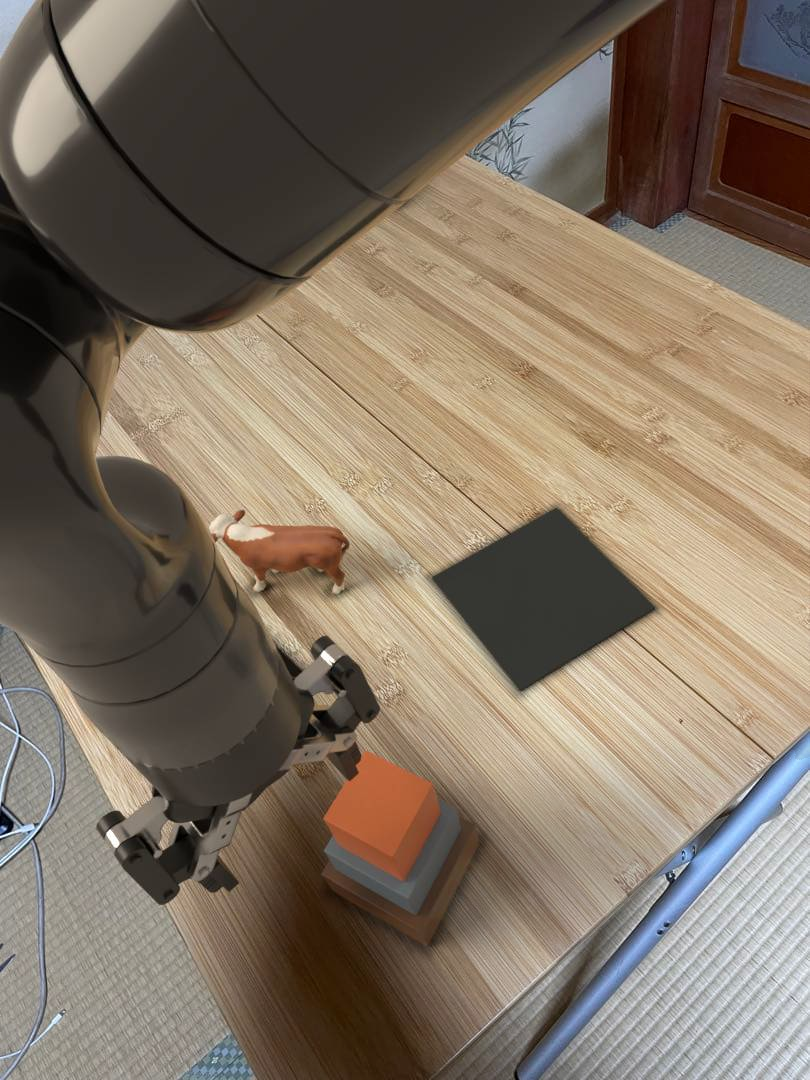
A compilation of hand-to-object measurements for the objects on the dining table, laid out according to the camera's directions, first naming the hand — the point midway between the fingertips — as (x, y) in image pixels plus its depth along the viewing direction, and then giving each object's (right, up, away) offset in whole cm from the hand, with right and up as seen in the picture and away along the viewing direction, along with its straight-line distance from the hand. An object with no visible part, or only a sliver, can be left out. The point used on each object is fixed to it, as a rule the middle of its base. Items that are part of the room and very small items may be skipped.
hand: (286, 818), depth 47 cm
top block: (+6, -3, +8) cm, 11 cm away
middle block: (+6, -6, +11) cm, 14 cm away
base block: (+7, -8, +14) cm, 18 cm away
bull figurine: (-4, +12, +33) cm, 35 cm away
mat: (+19, +11, +28) cm, 35 cm away
